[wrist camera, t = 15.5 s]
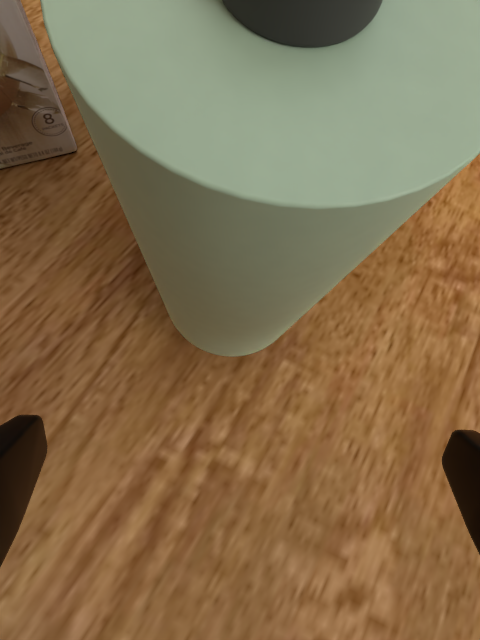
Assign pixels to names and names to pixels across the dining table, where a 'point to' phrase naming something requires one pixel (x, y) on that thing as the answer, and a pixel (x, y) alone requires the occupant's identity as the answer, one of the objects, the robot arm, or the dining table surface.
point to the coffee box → (27, 95)
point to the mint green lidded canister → (268, 139)
